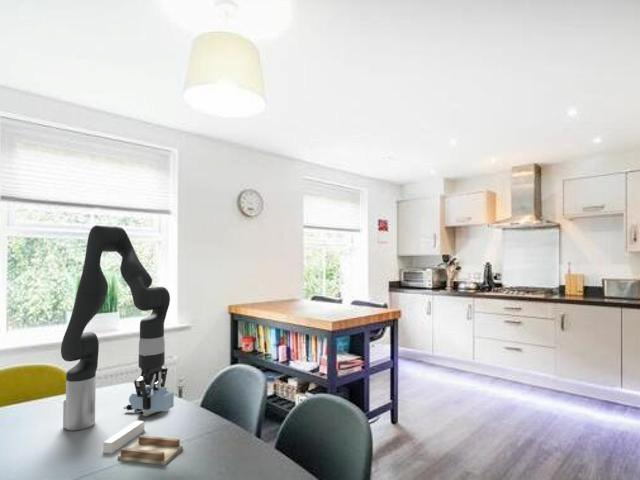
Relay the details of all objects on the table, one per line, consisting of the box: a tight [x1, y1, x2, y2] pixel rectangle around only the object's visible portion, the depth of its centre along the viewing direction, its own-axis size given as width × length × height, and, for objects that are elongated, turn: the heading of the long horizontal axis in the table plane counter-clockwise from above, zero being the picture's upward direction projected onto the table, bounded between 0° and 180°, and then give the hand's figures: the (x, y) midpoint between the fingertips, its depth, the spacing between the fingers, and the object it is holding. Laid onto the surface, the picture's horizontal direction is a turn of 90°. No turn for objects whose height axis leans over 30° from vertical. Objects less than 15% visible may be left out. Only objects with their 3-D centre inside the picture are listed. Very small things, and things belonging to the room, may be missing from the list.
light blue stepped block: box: [128, 386, 175, 412], centre depth 122 cm, size 14×4×6 cm, turn 78°
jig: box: [117, 434, 184, 466], centre depth 121 cm, size 16×10×3 cm, turn 78°
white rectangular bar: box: [102, 420, 145, 454], centre depth 130 cm, size 3×16×4 cm, turn 168°
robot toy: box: [123, 404, 160, 417], centre depth 154 cm, size 12×4×15 cm
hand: (151, 406), depth 122 cm, fingers closed on light blue stepped block, 4 cm apart
